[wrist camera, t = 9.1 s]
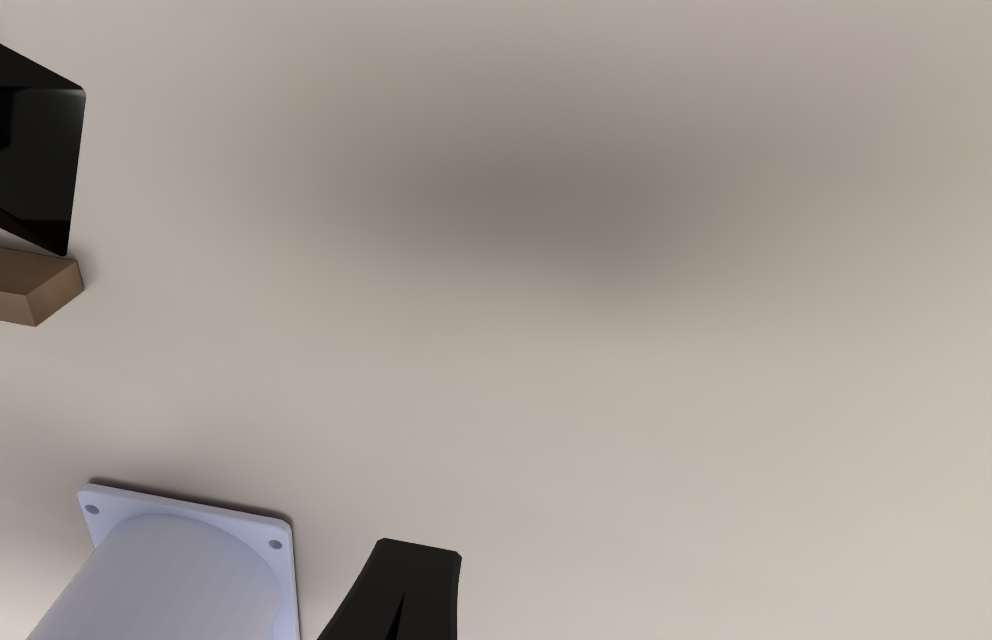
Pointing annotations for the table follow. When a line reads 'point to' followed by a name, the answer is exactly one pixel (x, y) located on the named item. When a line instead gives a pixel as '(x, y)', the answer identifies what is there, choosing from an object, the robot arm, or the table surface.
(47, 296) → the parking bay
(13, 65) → the black bevelled base
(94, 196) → the table surface
